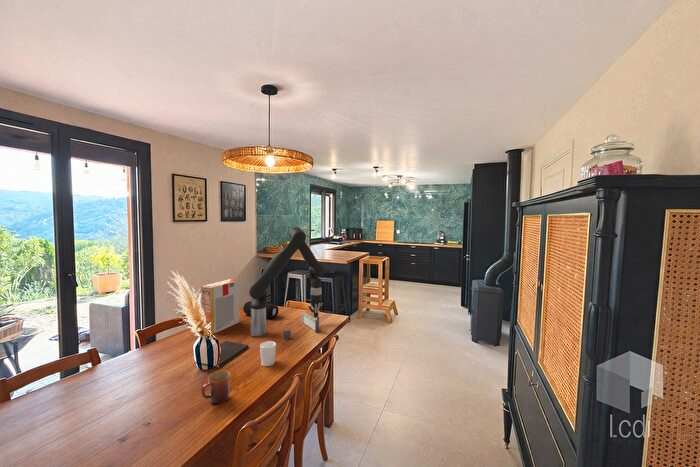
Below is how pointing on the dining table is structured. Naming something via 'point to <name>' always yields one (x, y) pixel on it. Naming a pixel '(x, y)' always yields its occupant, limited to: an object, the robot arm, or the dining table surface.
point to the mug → (217, 386)
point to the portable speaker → (270, 309)
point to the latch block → (287, 334)
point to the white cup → (267, 353)
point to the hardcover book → (230, 351)
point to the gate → (308, 320)
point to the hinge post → (317, 325)
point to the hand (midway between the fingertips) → (315, 317)
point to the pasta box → (221, 304)
